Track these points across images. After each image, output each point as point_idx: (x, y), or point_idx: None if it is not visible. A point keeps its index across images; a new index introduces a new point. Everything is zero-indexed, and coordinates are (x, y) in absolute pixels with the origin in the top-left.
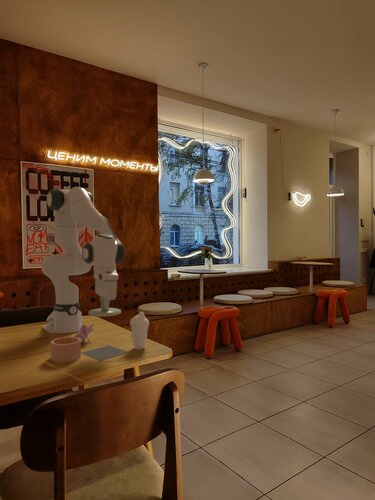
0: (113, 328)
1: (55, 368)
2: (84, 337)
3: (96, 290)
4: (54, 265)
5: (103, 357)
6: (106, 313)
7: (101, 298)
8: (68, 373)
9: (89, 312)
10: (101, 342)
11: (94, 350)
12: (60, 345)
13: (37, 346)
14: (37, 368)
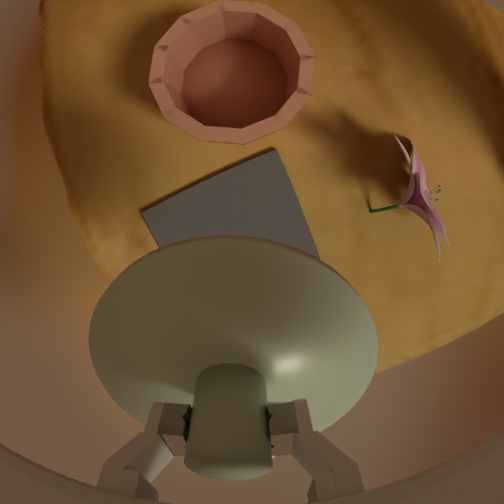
0: (483, 312)
1: (133, 55)
2: (406, 194)
3: (478, 484)
4: None
5: (175, 230)
6: (125, 374)
7: (326, 469)
8: (74, 103)
9: (209, 250)
10: (387, 256)
11: (283, 210)
12: (159, 42)
13: (426, 34)
14: (162, 3)
